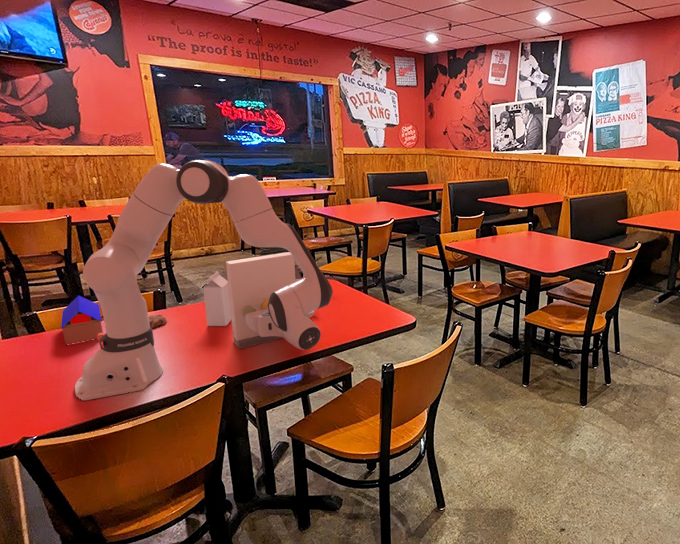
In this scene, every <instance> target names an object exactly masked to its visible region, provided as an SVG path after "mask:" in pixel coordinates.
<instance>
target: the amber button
mask: <svg viewBox="0 0 680 544" xmlns="http://www.w3.org/2000/svg"><path fill="white" fill-rule="evenodd" d="M268 302H269V300H267V301H264V302H263V304H262V310H265V307H267V306H268Z"/></svg>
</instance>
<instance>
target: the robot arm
mask: <svg viewBox="0 0 680 544" xmlns="http://www.w3.org/2000/svg"><path fill="white" fill-rule="evenodd" d="M265 191H266V190H264V187H263V186H262V184H261V183H260V181H259V179H257V178H256V177H255V176H254V175H252V174H247V173H244V174H243V173H242V174H237V175H234V176H230V173H229V171H228V170H227V169H226V167H224V166H223V165H222V164H220V163H218V162H215V161H212V160H208V159H193V160H190V161H188V162H186V163H184V164H183V165H182V166H181V167H180V168H178V167H176V166H174V165H172V164H168V163H163V162H162V163H156V164H155V165H153V166H152V167H151V169H149V170H148V172H147V173H146V174H145V175H144V177H142V179H141V180H140V182H138V185H136V187H135V189H134V190H133V192H132V194H131V196H130V197H129V199H128V200H127V203H126V204H125V206H124V207H123V209H122V210H121V213H120V214H119V215H118V218H117V223H116V226H115V228H114V230H113V233H112V235H111V237H110V239H109V241H108V242H107V243H106V244H105V245H104V246H103V247H102V248H101V249H98V250H96V251H95V252H94V253H92V254H91V255H90V256H89V257H88V259H87V261H86V262H85V264H84V266H83V270H82V277H83V280H84V282H85V284H86V285H87V287H89V288H90V289H91V290H93V292H94V295H95V296H96V298H97V301H98V304H99V307H100V308H101V309H100V310H101V312H102V316H103V321H104V322H103V323H104V327H105V333H104V332H103V333H99V334H98V335H97V342H99V346H100V348H99V349H98V350H97V351H96V352H95V353H94V354H93V355H92V356H91V357H90V358H88V359H87V360H86V361H85V363H84V365H83V368H82V373H81V377H79V378H78V379H77V381H76V383H75V385H74V394H75V397H76V398H77V397H78V398H79V400H80V399H81V401H90V400H95V399H100V398H106V397H112V396H116V395H122V394H127V393H128V392H129V393H133V392H140V391H142V390H144V389H145V388H147V387H148V386H149V384H151V383H153V382H154V381H156V380H157V379H158V378H160V377H161V375H162V374H163V371H164V369H163V367H162V365H161V363H160V360H159V358H158V356H157V353H156V349H155V337H154V336H155V335H154V331H153V328H151V326H150V324H149V318H148V317H149V313H148V306H147V301H146V299H145V298H144V297H143V296H142V293H141V290H140V288H139V285H138V280H137V279H138V277H137V276H138V274H139V273H141V272H142V271H143V269H144V267H145V266H146V264H147V262H148V260H149V259H150V257H151V254H152V252H153V251H154V249H155V246H156V245H157V243H158V241H159V239H160V237H161V236H162V234H163V232H164V231H165V229H166V228H167V226H168V224H169V222H170V221H171V219H172V217H174V215H175V213H176V211H177V210H178V208H179V206H180V205H181V203H182V202H183V201H184V200H187V201H189V202H191V203H193V204H200V205H205V204H222V205H224V207H225V208H226V209H227V212H228V213H229V215H230V217H231V220H232V222H233V225H234V227H235V229H236V231H237V233H238V235H239V237H240V239H241V240H242V241H243V242H245V244H247V245H249V246H251V247H255V248H281V249H285V250H287V251H288V252H290V253H291V254H292V256H293V258H294V262H295V263H296V265H298V266H299V270H300V269H301V273H302V274H303V277H301V278H302V279H300V280H298V281H296V282H294V283H292V284H290V285H288V286H285V287H283V288H281V289H279V290H277V291H275V292H272V294H271V296H270V298H269V302H268V306H267V307H265V310H260V311H256V312H251V313H247V314H246V315H245V320H246V325H247V326H248V327H249V328H250V329H251V330H253V331H255V332H259V335H260V336H261V337H269V336H278V337H284V338H283V339H285V341H286V342H288V343H289V344H290V345H291V346H293V347H295V348H297V349H299V350H302V351H305V350H310V349H312V348H314V347H315V346H316V345H317V344H318V343H319V341H320V339H321V336H322V332H321V329H320V327H319V326H318V325H317V324H316V323H315V322H314V321H312V319H310V317H313V316H314V315H315V314H316V313H315V310H319V309H322V308H324V307H326V306H328V305H329V304H330V302H331V300H332V298H333V294H334V290H333V287H332V285H331V283H330V281H329V280H328V278H327V277H326V275H324V273H323V272H322V271H321V269H320V268H319V266H318V264H317V261H316V262H315V261H314V260H315V259H314V257H313V256H312V254H311V253H310V251H309V249H308V247H307V246H306V244H305V243H304V241H303V239H302V237H300V235H299V233H298V232H297V230H296V229H295V228H294V226H293V225H291V224H290V223H285V222H283V221H282V220H281V219H280V218H279V216H278V215H277V214H276V212H275V211H274V209H273V206H272V203H271V202H270V201H271V200H270V199H269V198H268V195H267V193H266V192H265ZM129 393H128V394H129ZM78 398H77V399H78Z"/></svg>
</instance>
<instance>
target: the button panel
mask: <svg viewBox="0 0 680 544" xmlns="http://www.w3.org/2000/svg"><path fill="white" fill-rule="evenodd" d="M225 265H226V266H225V267H226V276H227V281H228V288H229V298H230V308H231V318H232V320H231V325H232V337H233V343H234V344H235V346H236V347H237V348H238V349H240V350H241V349H244V348H248V347H253V346H255V345H256V346H257V345H259V344H263V343H264V344H265V343H268V342H272V341H276V340H280V339H285V338H284V337H278V336H269V337H261V336H260V335H259V332H255V331H253V330H251V329H250V328H249V327H248V326H247V325H246V320H245V317H244V316H243V314H242V311H243V309H244V308H245V307H246V306H252V307H253V308H254V309H255V310H256V311H260V310H262V304H263V302H264V301H267V300H269V298H270V296H271V294H272V292H275V291H277V290H279V289H281V288H283V287H285V286H288V285H290V284H292V283H294V282H295V265H296V264H295V259H294V258H293V256H292V254H291V253H290V252H289V251H288V252H281V253H275V254H268V255H260V256H256V257H255V256H254V257H248V258H247V257H246V258H241V259H235V260H234V259H233V260H228V261H225Z"/></svg>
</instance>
